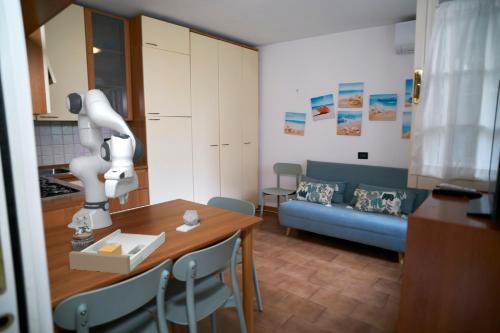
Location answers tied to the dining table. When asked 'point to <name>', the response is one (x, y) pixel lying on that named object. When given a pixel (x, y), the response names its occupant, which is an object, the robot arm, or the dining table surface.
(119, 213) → the dining table surface
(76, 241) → the cupcake
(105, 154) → the robot arm
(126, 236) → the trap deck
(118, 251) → the block
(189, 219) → the die
